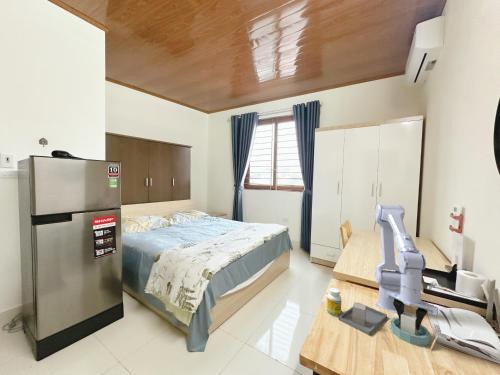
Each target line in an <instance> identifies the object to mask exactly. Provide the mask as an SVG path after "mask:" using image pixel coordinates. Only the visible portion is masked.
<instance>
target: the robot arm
mask: <svg viewBox="0 0 500 375" xmlns="http://www.w3.org/2000/svg"><path fill="white" fill-rule="evenodd" d="M405 212H406V211H405V208H404V207H403V205H400V204H397V205H396V204H394V205H393V204H379V203H378V204H377V205H376V206H375V210H374V217H375V218H374V219H375V223H376V224H378V225H379V229H380V243H381V244H380V248H381V261H382V262H380V263H378V264H377V265H375V271H374V278H375V282H376V284H377V285H379V287H378V302H376V303H375V304H374V306H375V307H378V308H381V309H383V310H386V311H389V312H390V313H394V314H397V316H398V317H399V321H400V323H401V314H402V313H403V312H404V311H405V305H406V306H409V307H410V306H411V307H415V308H416V310H415V315H416V330H418V331H419V329H420V325H422V323H423V319H424V318H425V316H426V315H427V314H428V313H431V314H433V315H435V316H438V314H439V307H438V306H434V305H432V304H430V303H428V302H427V301H426V302H425V301H424V300H422V276H423V275H422V272H423V271H424V270H425V269H426V266H427V262H426V257H425V255H424V254H423V252H421V251H420V250H419V249H418V248H417V246H416V244H415V242H414V239H413V237H412V235H410V234H407V231H406V227H405V224H404V218H405V214H406V213H405ZM394 234H395V236H394ZM395 246H396V249H397V252H398V256H397V261H398V264H396V254H395Z"/></svg>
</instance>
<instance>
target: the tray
mask: <svg viewBox="0 0 500 375" xmlns="http://www.w3.org/2000/svg"><path fill="white" fill-rule="evenodd" d="M358 303H359V304H362V303H360V302H358ZM352 316H353V306H351V307H350V308H349V309H348V310H346V311H344V312H343V313H341V315H340V316H339V317H338V321H339V322H342V323H344V324H346V325H348V326H349V327H352V328H353V329H356V330H358V331H359V332H362V333H363V334H364V335H366V336H371V335H372V333H373V332H375V331H376V329H377V328H379V327H380V325H381V324H382V323H383V322H384V321H385V320H386V319H387V318H388V314H386V313H384V312H382V311H379V310H377V309H375V308H373V307H371V306H368V305H366V322H365V326H361V325H358V324H355V323H352Z"/></svg>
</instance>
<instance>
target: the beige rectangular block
mask: <svg viewBox="0 0 500 375" xmlns="http://www.w3.org/2000/svg"><path fill="white" fill-rule="evenodd" d="M401 330H402V331H404V332H406V333H409V334H412V335H416V336H417V334H418V330H416V314H413V313H410V312H408V311H406V310H404V312H403V313H402V314H401Z"/></svg>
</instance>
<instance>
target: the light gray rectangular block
mask: <svg viewBox="0 0 500 375" xmlns="http://www.w3.org/2000/svg"><path fill="white" fill-rule="evenodd" d="M359 303H360V302H355V301H354V303H353V306H352V307H353V316H352V323H355V324H358V325H361V326H365V322H366V306H367V304H362V303H361V304H359Z"/></svg>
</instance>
